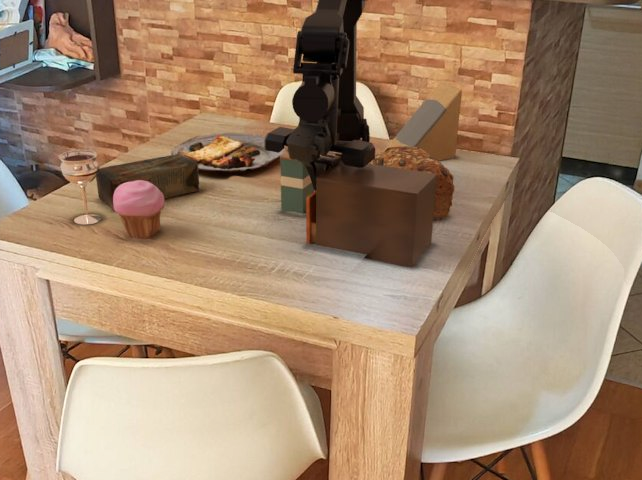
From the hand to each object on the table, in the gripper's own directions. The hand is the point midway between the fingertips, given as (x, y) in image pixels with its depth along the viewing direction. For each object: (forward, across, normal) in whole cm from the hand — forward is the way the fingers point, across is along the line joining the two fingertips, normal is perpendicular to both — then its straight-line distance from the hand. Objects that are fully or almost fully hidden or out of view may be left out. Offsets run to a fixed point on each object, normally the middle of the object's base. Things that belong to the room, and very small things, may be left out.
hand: (317, 194), depth 145 cm
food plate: (+8, -34, +27) cm, 44 cm away
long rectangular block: (+7, -7, +7) cm, 12 cm away
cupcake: (+8, -27, -16) cm, 32 cm away
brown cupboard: (+6, +12, -2) cm, 14 cm away
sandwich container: (+7, +2, +48) cm, 48 cm away
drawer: (+6, +10, -3) cm, 12 cm away
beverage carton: (+8, -37, +1) cm, 38 cm away
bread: (+7, +11, +19) cm, 23 cm away
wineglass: (+8, -40, -14) cm, 44 cm away
